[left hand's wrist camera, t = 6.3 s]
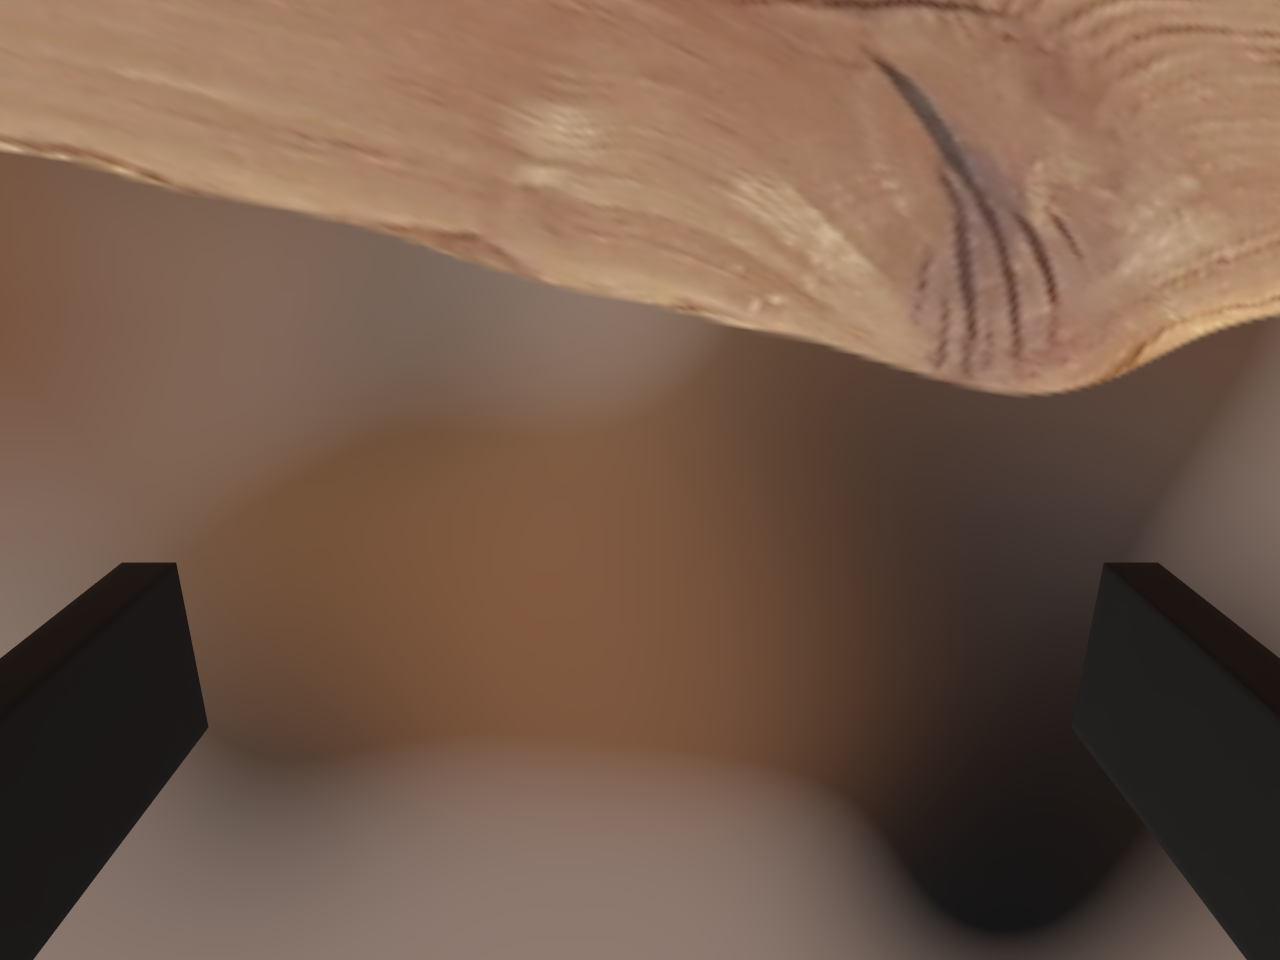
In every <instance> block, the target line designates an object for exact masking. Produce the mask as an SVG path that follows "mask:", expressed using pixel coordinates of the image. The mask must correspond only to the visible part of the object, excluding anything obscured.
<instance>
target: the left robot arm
mask: <svg viewBox="0 0 1280 960" xmlns="http://www.w3.org/2000/svg"><path fill="white" fill-rule="evenodd" d="M207 728H208V723H207V718H206V713H205V707H204V702H203V697H202V692H201V687H200V682H199V677H198V672H197V667H196V662H195V656H194V651H193V646H192V641H191V636H190V631H189V626H188V621H187V616H186V611H185V606H184V601H183V595H182V590H181V585H180V580H179V575H178V570H177V565H176V563H121V564H120V565H118V566H117V567H116V568H115V569H113V570H112V571H111V572H109V573H108V574H107V575H106V576H104V577H103V578H102V579H101V580H99V581H98V582H97V583H96V584H94V585H93V586H92V587H90V588H89V589H88V590H87V591H85V592H84V593H83V594H82V595H80V596H79V597H78V598H76V599H75V600H74V601H73V602H71V603H70V604H69V605H68V606H66V607H65V608H64V609H63V610H61V611H60V612H59V613H57V614H56V615H55V616H54V617H52V618H51V619H50V620H49V621H47V622H46V623H45V624H43V625H42V626H41V627H40V628H38V629H37V630H36V631H35V632H33V633H32V634H31V635H30V636H28V637H27V638H26V639H24V640H23V641H22V642H21V643H19V644H18V645H17V646H16V647H14V648H13V649H12V650H10V651H9V652H8V653H7V654H5V655H4V656H3V657H2V658H0V960H33V959H34V958H35V957H36V955H37V954H38V953H39V951H40V950H41V949H42V947H43V946H44V945H45V943H46V942H47V941H48V939H49V938H50V937H51V935H52V934H53V933H54V931H55V930H56V929H57V927H58V926H59V925H60V923H61V922H62V921H63V919H64V918H65V917H66V916H67V914H68V913H69V912H70V910H71V909H72V908H73V906H74V905H75V904H76V902H77V901H78V900H79V898H80V897H81V896H82V894H83V893H84V892H85V890H86V889H87V888H88V886H89V885H90V884H91V882H92V881H93V880H94V878H95V877H96V876H97V874H98V873H99V872H100V870H101V869H102V868H103V866H104V865H105V864H106V862H107V861H108V860H109V858H110V857H111V856H112V854H113V853H114V852H115V851H116V849H117V848H118V847H119V845H120V844H121V843H122V841H123V840H124V839H125V837H126V836H127V835H128V833H129V832H130V831H131V829H132V828H133V827H134V825H135V824H136V823H137V821H138V820H139V819H140V817H141V816H142V815H143V813H144V812H145V811H146V809H147V808H148V807H149V805H150V804H151V803H152V801H153V800H154V799H155V797H156V796H157V795H158V793H159V792H160V791H161V789H162V788H163V787H164V785H165V784H166V783H167V782H168V780H169V779H170V778H171V776H172V775H173V773H174V772H175V771H176V770H177V768H178V767H179V766H180V764H181V763H182V762H183V760H184V759H185V758H186V756H187V755H188V754H189V752H190V751H191V750H192V748H193V747H194V746H195V744H196V743H197V742H198V740H199V739H200V738H201V736H202V735H203V734H204V732H205V731H206V730H207ZM1072 728H1073V730H1074V731H1075V732H1076V734H1077V735H1078V736H1079V738H1080V739H1081V740H1082V742H1083V743H1084V744H1085V746H1086V747H1087V748H1088V750H1089V751H1090V752H1091V754H1092V755H1093V756H1094V758H1095V759H1096V760H1097V762H1098V763H1099V764H1100V766H1101V767H1102V768H1103V770H1104V771H1105V772H1106V774H1107V775H1108V776H1109V777H1110V779H1111V780H1112V782H1113V783H1114V784H1115V785H1116V787H1117V788H1118V789H1119V791H1120V792H1121V793H1122V795H1123V796H1124V797H1125V799H1126V800H1127V801H1128V803H1129V804H1130V805H1131V807H1132V808H1133V809H1134V811H1135V812H1136V813H1137V815H1138V816H1139V817H1140V819H1141V820H1142V821H1143V823H1144V824H1145V825H1146V827H1147V828H1148V829H1149V831H1150V832H1151V833H1152V835H1153V836H1154V837H1155V839H1156V840H1157V841H1158V843H1159V844H1160V845H1161V846H1162V848H1163V849H1164V850H1165V852H1166V853H1167V854H1168V856H1169V857H1170V858H1171V860H1172V861H1173V862H1174V864H1175V865H1176V866H1177V868H1178V869H1179V870H1180V872H1181V873H1182V874H1183V876H1184V877H1185V878H1186V880H1187V881H1188V882H1189V884H1190V885H1191V886H1192V888H1193V889H1194V890H1195V892H1196V893H1197V894H1198V896H1199V897H1200V898H1201V900H1202V901H1203V902H1204V904H1205V905H1206V906H1207V908H1208V909H1209V910H1210V912H1211V913H1212V914H1213V915H1214V917H1215V918H1216V919H1217V921H1218V922H1219V923H1220V925H1221V926H1222V927H1223V929H1224V930H1225V931H1226V933H1227V934H1228V935H1229V937H1230V938H1231V939H1232V941H1233V942H1234V943H1235V945H1236V946H1237V947H1238V949H1239V950H1240V951H1241V953H1242V954H1243V955H1244V957H1245V958H1246V959H1247V960H1280V658H1278V657H1277V656H1276V655H1275V654H1273V653H1272V652H1271V651H1270V650H1268V649H1267V648H1266V647H1264V646H1263V645H1262V644H1261V643H1259V642H1258V641H1257V640H1256V639H1254V638H1253V637H1252V636H1250V635H1249V634H1248V633H1247V632H1245V631H1244V630H1243V629H1242V628H1240V627H1239V626H1238V625H1237V624H1235V623H1234V622H1233V621H1231V620H1230V619H1229V618H1228V617H1226V616H1225V615H1224V614H1223V613H1221V612H1220V611H1219V610H1218V609H1216V608H1215V607H1214V606H1212V605H1211V604H1210V603H1209V602H1207V601H1206V600H1205V599H1204V598H1202V597H1201V596H1200V595H1198V594H1197V593H1196V592H1195V591H1193V590H1192V589H1191V588H1190V587H1188V586H1187V585H1186V584H1184V583H1183V582H1182V581H1181V580H1179V579H1178V578H1177V577H1176V576H1174V575H1173V574H1172V573H1171V572H1169V571H1168V570H1167V569H1165V568H1164V567H1163V566H1162V565H1160V564H1159V563H1104V565H1103V570H1102V575H1101V580H1100V585H1099V590H1098V595H1097V600H1096V606H1095V611H1094V616H1093V621H1092V626H1091V631H1090V636H1089V641H1088V646H1087V651H1086V656H1085V662H1084V667H1083V672H1082V677H1081V682H1080V687H1079V692H1078V697H1077V702H1076V708H1075V712H1074V718H1073V723H1072Z"/></svg>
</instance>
